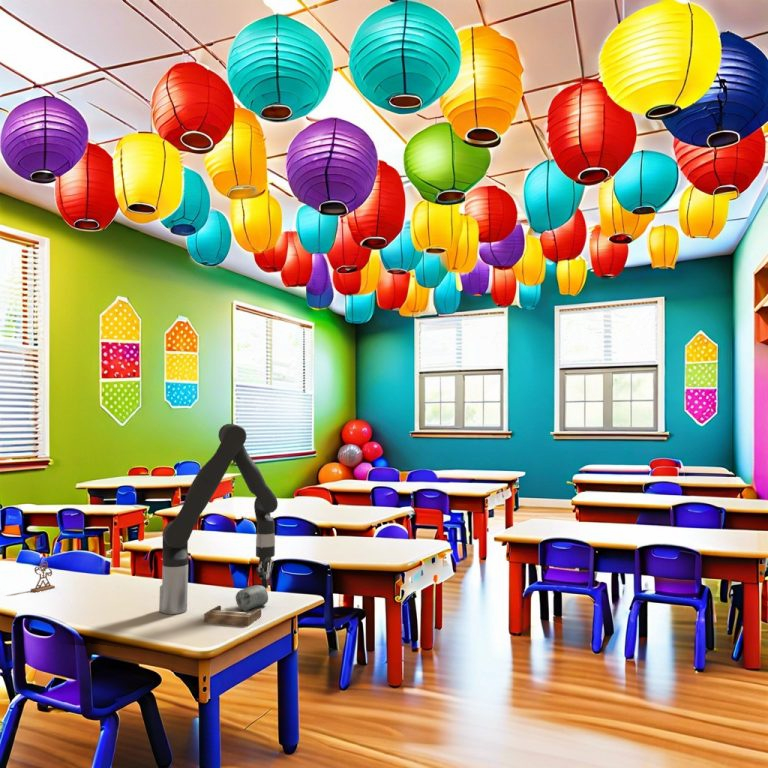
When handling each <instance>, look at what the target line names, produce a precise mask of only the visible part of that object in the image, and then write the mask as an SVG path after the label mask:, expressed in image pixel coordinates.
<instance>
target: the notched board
mask: <svg viewBox="0 0 768 768" xmlns="http://www.w3.org/2000/svg"><path fill="white" fill-rule="evenodd" d="M260 617H261V618H262V608H258V609H256V610H254V611H252V612H251V613H249V614H248V613H247V612H246V611H244V612H243V611H242V612H240V611H228V610H222V605H217V606H216V607H213V608H211V609H210V610H208V611H206V612H205V613H204V614H203V623H209V624H220V625H234V626H243V627H244V626H247V627H248V626H251V624H254V623H255V622H257V619H258V620H259V619H261V618H260ZM254 621H255V622H254Z"/></svg>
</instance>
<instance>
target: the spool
mask: <svg viewBox="0 0 768 768" xmlns="http://www.w3.org/2000/svg"><path fill="white" fill-rule="evenodd" d="M268 593H269V592H268V591H267V588H266V589H265V587H263V586H262V584H261V585H260V584H254V585H251V586H247V587H245V588H243V589H240V590H239V591H237V592H236V595H235V602H236V605H237V607H238V608H239V609H240V610H241V611H242V612H243V611H244V612H246V611H247V612H248V611H249V610H251V609H254V608H259V607H262V606H264V605H266V604H267V603H268V601H269V594H268Z"/></svg>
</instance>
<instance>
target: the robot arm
mask: <svg viewBox="0 0 768 768" xmlns="http://www.w3.org/2000/svg"><path fill="white" fill-rule="evenodd" d="M218 439H219V445H218V448H217V449H216V451H215V453H214V454H213V456H212V457H211V458H209V460H208V461H207V462H206V463H205V464H203V466H202V467H201V468H200V470H199V471H198V472H197V474H196V476H195V477H194V479H193V481H192V482H191V485H190V486H189V489H188V491H187V494H186V496H185V498H184V502H183V504H182V507H181V509H180V510H179V511H178V513H177V515H176V517H175V518H174V520H171V521H170V522H168V523H167V524H166V525H165V527H164V528H163V529H162V530H163V531H162V552H161V553H162V554H161V556H162V579H161V581H162V582H161V585H160V586H159V607H158V610H159V611H158V612H159V613H162V614H166V615H178V614H183V613H185V612H187V611H188V588H189V550H188V549H189V547H188V545H189V544H188V543H189V540H190V538H191V535H192V533H193V532H194V531H193V530H194V528H195V526H196V525H197V522H198V520H199V518H200V517H201V515H202V513H203V511H204V510H205V509H206V507H207V505H208V504H209V503H210V501H211V499H212V498H213V496H214V495H215V493H216V491H217V490H218V487H219V485H220V483H221V482H222V480H223V478H224V477H225V475H226V473H227V471H228V469H229V467H230V465H231V463H232V462H233V461H234V463H235V465H236V467H237V468H238V471H239V473H240V474H241V477H242V479H243V480H244V483H245V484H246V486H247V489H248V490H249V491H250V494H252V495H254V496H255V500H254V503H253V509H254V515H255V519H256V537H255V557H257V558H259V559H258V560H259V561H258V567H255V571H256V573H257V577H258V579H260V580H261V586H263V587H265V589H266V590H267V589H268V588H269V579H270V577H271V575H272V571H273V567H274V564H275V563H274V561H272V558H273V557H275V554H276V551H275V550H276V544H275V543H276V537H275V536H276V535H275V520H274V519H273V518H272V516H271V513H274V512H276V510H277V509H278V505H279V504H278V503H279V502H278V499H277V497H276V495H275V493H274V492H273V491H272V489H271V488H270V487H269V486H268V484H267V483H266V481H265V479H264V477H263V475H262V473H261V471H260V469H259V467H258V466H257V464H256V463H255V462H254V460H253V459H252V457H251V456H250V454H249V453H248V451H247V449H246V447H245V443H246V440H247V432H246V430H245V429H244V427H243V426H241V425H238V424H234V423H227V424H223V426H221V427H220V428H219V430H218Z"/></svg>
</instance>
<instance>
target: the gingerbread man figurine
mask: <svg viewBox="0 0 768 768" xmlns="http://www.w3.org/2000/svg"><path fill="white" fill-rule="evenodd" d="M44 562H45V563H44ZM48 566H49V564H48V561H46V560H42V561H41V562H40V563H39V566H35V567H34V573H35V574H36V575H39V579H38V581H37V583H36V585H35V587H34V588H30V592H31V593H35V592H37V593H41V592H45V591H50V590H52V589H55V588H56V586H55V585H52V584H51V583H50V581H49V579H48V577H51V576H52V575H53V570H52V569H51V568H48ZM47 569H48V570H49V572H48V571H47ZM38 571H41V573H38ZM46 571H47V572H46ZM44 579H45V580H46V582H47V583H46V582H45V580H44ZM41 580H42V581H41ZM40 582H41V583H40ZM42 585H43V586H42ZM40 591H41V592H40Z"/></svg>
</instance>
